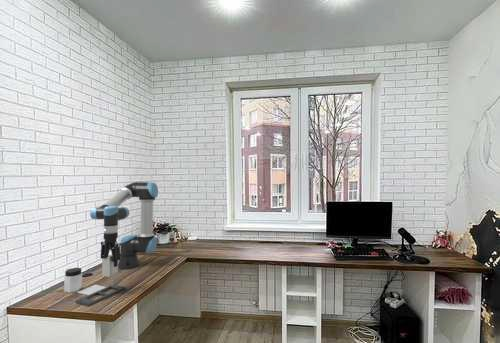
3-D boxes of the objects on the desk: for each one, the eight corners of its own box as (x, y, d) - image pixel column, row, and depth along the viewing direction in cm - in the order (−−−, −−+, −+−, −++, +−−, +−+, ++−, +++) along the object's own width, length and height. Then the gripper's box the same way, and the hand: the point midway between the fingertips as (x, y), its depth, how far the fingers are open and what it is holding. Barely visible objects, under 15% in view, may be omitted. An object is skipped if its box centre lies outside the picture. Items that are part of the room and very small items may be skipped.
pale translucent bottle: (110, 272, 162) (111, 254, 162) (118, 273, 160) (118, 255, 160) (102, 275, 157) (102, 257, 157) (109, 277, 154) (109, 258, 155)
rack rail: (113, 286, 166) (113, 284, 166) (125, 289, 162) (125, 287, 162) (75, 303, 144) (75, 300, 144) (88, 306, 140) (88, 304, 140)
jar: (69, 287, 164) (69, 267, 165) (83, 286, 166) (84, 267, 166) (61, 293, 155) (62, 272, 156) (77, 292, 157) (77, 272, 157)
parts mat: (95, 285, 168) (95, 284, 168) (106, 287, 164) (106, 287, 164) (76, 292, 157) (76, 292, 157) (88, 295, 153) (88, 294, 153)
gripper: (93, 232, 159) (93, 271, 158) (117, 235, 152) (116, 275, 151) (104, 229, 166) (104, 267, 165) (127, 232, 159) (127, 271, 158)
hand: (110, 271), depth 158 cm, fingers closed on pale translucent bottle, 6 cm apart
